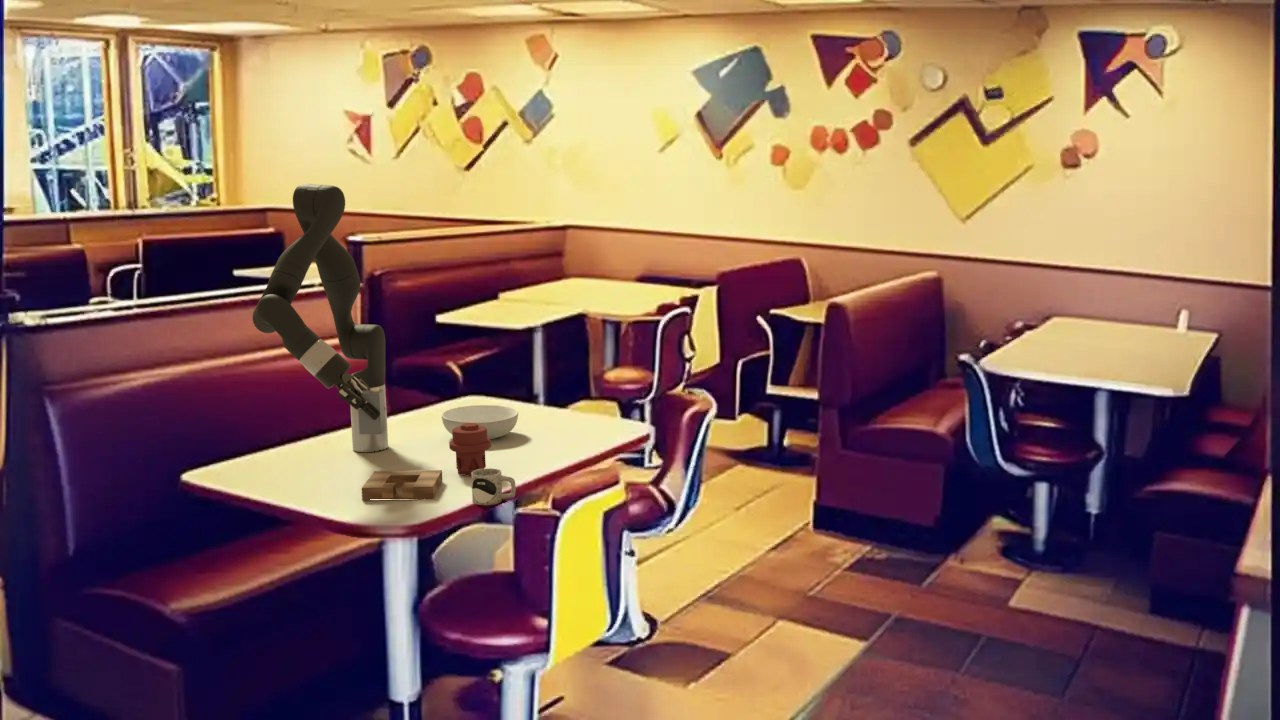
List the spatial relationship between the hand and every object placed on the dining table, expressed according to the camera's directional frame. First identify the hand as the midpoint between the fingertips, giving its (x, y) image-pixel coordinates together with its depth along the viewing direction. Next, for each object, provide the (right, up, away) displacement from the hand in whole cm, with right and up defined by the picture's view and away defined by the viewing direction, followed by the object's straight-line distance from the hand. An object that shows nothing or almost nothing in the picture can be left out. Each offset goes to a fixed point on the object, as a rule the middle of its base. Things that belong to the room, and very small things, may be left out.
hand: (380, 414), depth 270 cm
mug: (+27, -19, -7) cm, 34 cm away
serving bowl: (+16, -9, +53) cm, 56 cm away
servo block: (-2, -4, +1) cm, 5 cm away
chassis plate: (+5, -18, +2) cm, 19 cm away
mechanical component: (+19, -15, +16) cm, 29 cm away
